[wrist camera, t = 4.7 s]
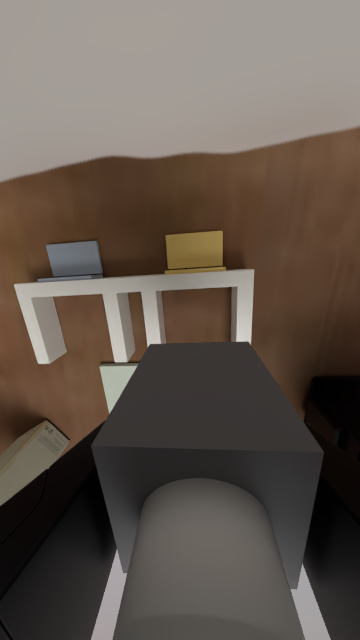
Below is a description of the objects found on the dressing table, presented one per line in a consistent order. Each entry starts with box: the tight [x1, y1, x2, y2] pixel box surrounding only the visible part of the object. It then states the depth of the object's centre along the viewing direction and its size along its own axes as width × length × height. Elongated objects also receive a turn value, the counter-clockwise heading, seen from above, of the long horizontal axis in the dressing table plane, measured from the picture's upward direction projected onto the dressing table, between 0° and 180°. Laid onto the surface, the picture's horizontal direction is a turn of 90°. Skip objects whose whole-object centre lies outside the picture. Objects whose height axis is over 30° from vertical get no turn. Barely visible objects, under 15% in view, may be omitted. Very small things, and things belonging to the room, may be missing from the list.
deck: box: [100, 363, 139, 414], centre depth 21 cm, size 10×7×1 cm
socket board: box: [14, 231, 254, 364], centre depth 17 cm, size 20×11×2 cm, turn 94°
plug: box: [91, 341, 324, 640], centre depth 5 cm, size 4×4×6 cm
